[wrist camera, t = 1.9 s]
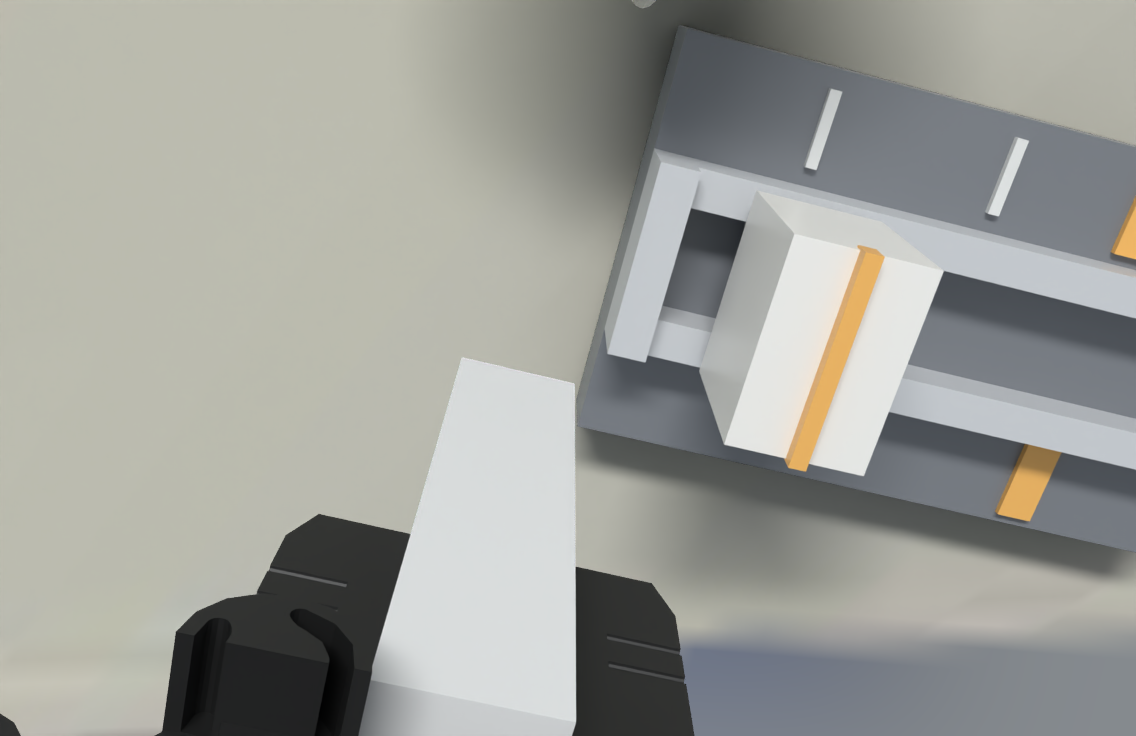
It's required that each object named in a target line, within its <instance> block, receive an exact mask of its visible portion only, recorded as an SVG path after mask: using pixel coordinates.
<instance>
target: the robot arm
mask: <svg viewBox="0 0 1136 736" xmlns="http://www.w3.org/2000/svg"><path fill="white" fill-rule="evenodd" d="M679 654H680V643H679V637H678V630H677V624H676V618H675V615H674V614H673V612H672V611H671V609H670V608H669V607H668V605H667V604H666V603H665V601H664V600H663V598H662V597H661V596H660V594H659V593H658V591H657V590H656V589H655V587H654V586H653V585H652V583H648V582H643V581H638V580H634V579H629V578H625V577H620V576H616V575H611V574H607V573H602V572H597V571H593V570H588V569H584V568H579V567H575V383H570V382H566V381H562V380H558V379H553V378H549V377H545V376H540V375H536V374H532V373H528V372H523V371H519V370H515V369H511V368H506V367H502V366H498V365H493V364H489V363H485V362H481V361H476V360H472V359H468V358H463V357H462V359H461V362H460V366H459V369H458V373H457V376H456V379H455V383H454V386H453V390H452V393H451V397H450V400H449V404H448V407H447V410H446V414H445V417H444V421H443V424H442V428H441V431H440V435H439V438H438V441H437V445H436V448H435V452H434V455H433V459H432V462H431V466H430V469H429V472H428V476H427V479H426V483H425V486H424V490H423V493H422V497H421V500H420V503H419V507H418V510H417V514H416V517H415V521H414V524H413V528H412V531H411V534H408V533H403V532H399V531H394V530H389V529H385V528H380V527H376V526H371V525H367V524H362V523H357V522H353V521H348V520H344V519H339V518H335V517H330V516H325V515H321V514H318V515H317V516H315V517H314V518H312V519H311V520H309V521H307V522H306V523H304V524H303V525H301V526H300V527H298V528H296V529H295V530H293V531H292V532H290V533H289V534H287V535H286V536H285V538H284V540H283V542H282V544H281V546H280V548H279V550H278V552H277V553H276V555H275V557H274V559H273V561H272V563H271V565H270V569H269V571H267V573H266V575H265V577H264V579H263V581H262V583H261V585H260V587H259V589H258V591H257V594H256V595H248V596H241V597H234V598H227V599H224V600H222V601H220V602H218V603H215V604H213V605H211V606H208V607H206V608H204V609H201V610H199V611H197V612H196V613H195V614H193V615H192V616H191V617H190V618H189V619H188V620H187V621H186V622H185V623H184V624H183V625H182V626H181V627H180V628H179V629H178V630H177V631H176V636H175V643H174V650H173V658H172V665H171V672H170V679H169V687H168V694H167V701H166V708H165V716H164V723H163V730H162V732H161V733H159V734H157V735H155V736H694V731H693V725H692V718H691V712H690V706H689V700H688V693H687V687H686V684H684V678H685V675H684V668H683V662H682V656H680V655H679ZM0 736H21V735H20V733H19V731H18V729H17V727H16V725H15V724H14V722H12V721H11V720H9V719H8V718H6V717H5V716H3V715H2V714H0Z"/></svg>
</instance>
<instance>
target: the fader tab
mask: <svg viewBox="0 0 1136 736" xmlns="http://www.w3.org/2000/svg"><path fill="white" fill-rule="evenodd" d="M943 272H944V271H943V270H942V269H941V268H940V267H938V266H937V265H936V264H935V263H933V262H932V261H931V260H930V259H928V258H927V257H926V256H925V255H923V254H922V253H921V252H919V251H918V250H917V249H916V248H914V247H913V246H912V245H911V244H909V243H908V242H907V241H906V240H904V239H903V238H902V237H900V236H899V235H898V234H897V233H895V232H894V231H893V230H892V229H890V228H889V227H888V226H887V225H885V224H884V223H883V222H881V221H877V220H873V219H869V218H865V217H861V216H857V215H853V214H849V213H845V212H841V211H837V210H833V209H829V208H825V207H821V206H817V205H813V204H809V203H805V202H801V201H797V200H793V199H789V198H785V197H781V196H777V195H773V194H769V193H765V192H761V191H757V190H756V193H755V196H754V199H753V202H752V205H751V208H750V212H749V215H748V218H747V221H746V224H745V228H744V231H743V234H742V237H741V240H740V243H739V247H738V250H737V253H736V256H735V259H734V262H733V266H732V269H731V272H730V275H729V278H728V281H727V285H726V288H725V291H724V294H723V297H722V300H721V304H720V307H719V310H718V313H717V316H716V319H715V323H714V326H713V329H712V332H711V335H710V338H709V342H708V345H707V348H706V351H705V354H704V358H703V361H702V364H701V367H700V370H699V372H700V375H701V378H702V381H703V384H704V387H705V390H706V393H707V396H708V399H709V402H710V405H711V408H712V410H713V413H714V416H715V419H716V422H717V425H718V428H719V431H720V434H721V437H722V440H723V443H724V445H728V446H733V447H737V448H741V449H746V450H750V451H755V452H759V453H763V454H768V455H772V456H777V457H781V458H784V460H785V462H786V464H787V466H788V468H792V469H796V470H800V471H805V472H806V470H807V467H808V464H812V465H816V466H821V467H825V468H829V469H834V470H838V471H843V472H847V473H851V474H856V475H860V476H864V474H865V472H866V469H867V466H868V464H869V461H870V459H871V456H872V454H873V451H874V449H875V446H876V443H877V441H878V438H879V436H880V433H881V431H882V428H883V426H884V423H885V420H886V418H887V415H888V413H889V410H890V408H891V405H892V402H893V400H894V397H895V395H896V392H897V390H898V387H899V385H900V382H901V379H902V377H903V374H904V372H905V369H906V367H907V364H908V362H909V359H910V356H911V354H912V351H913V349H914V346H915V344H916V341H917V338H918V336H919V333H920V331H921V328H922V326H923V323H924V321H925V318H926V315H927V313H928V310H929V308H930V305H931V303H932V300H933V298H934V295H935V292H936V290H937V287H938V285H939V282H940V280H941V277H942V274H943Z"/></svg>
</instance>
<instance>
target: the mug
mask: <svg viewBox="0 0 1136 736" xmlns="http://www.w3.org/2000/svg"><path fill="white" fill-rule="evenodd" d="M655 1H656V0H632V2H633V3H634V5H635V6H637V7H640V8H646V7H649V6H651V5H652V4H653V3H654V2H655Z"/></svg>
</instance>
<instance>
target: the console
mask: <svg viewBox="0 0 1136 736" xmlns="http://www.w3.org/2000/svg"><path fill="white" fill-rule="evenodd" d="M756 190H757V191H761V192H765V193H769V194H773V195H777V196H781V197H785V198H789V199H793V200H797V201H801V202H805V203H809V204H813V205H817V206H821V207H825V208H829V209H833V210H837V211H841V212H845V213H849V214H853V215H857V216H861V217H865V218H869V219H873V220H877V221H881V222H883V223H884V224H885V225H887V226H888V227H889V228H890V229H892V230H893V231H894V232H895V233H897V234H898V235H899V236H900V237H902V238H903V239H904V240H906V241H907V242H908V243H909V244H911V245H912V246H913V247H914V248H916V249H917V250H918V251H919V252H921V253H922V254H923V255H925V256H926V257H927V258H928V259H930V260H931V261H932V262H933V263H935V264H936V265H937V266H938V267H940V268H941V269H942V270H943V271H944V272H943V274H942V277H941V280H940V282H939V285H938V287H937V290H936V292H935V295H934V298H933V300H932V303H931V305H930V308H929V310H928V313H927V315H926V318H925V321H924V323H923V326H922V328H921V331H920V333H919V336H918V338H917V341H916V344H915V346H914V349H913V351H912V354H911V356H910V359H909V362H908V364H907V367H906V369H905V372H904V374H903V377H902V379H901V382H900V385H899V387H898V390H897V392H896V395H895V397H894V400H893V402H892V405H891V408H890V410H889V413H888V415H887V418H886V420H885V423H884V426H883V428H882V431H881V433H880V436H879V438H878V441H877V443H876V446H875V449H874V451H873V454H872V456H871V459H870V461H869V464H868V466H867V469H866V472H865V474H864V476H860V475H856V474H851V473H847V472H843V471H838V470H834V469H829V468H825V467H821V466H816V465H812V464H808V467H807V470H806V472H805V471H800V470H796V469H792V468H788V466H787V464H786V462H785V460H784V458H781V457H777V456H772V455H768V454H763V453H759V452H755V451H750V450H746V449H741V448H737V447H733V446H728V445H724V443H723V440H722V437H721V434H720V431H719V428H718V425H717V422H716V419H715V416H714V413H713V410H712V408H711V405H710V402H709V399H708V396H707V393H706V390H705V387H704V384H703V381H702V378H701V375H700V372H699V370H700V367H701V364H702V361H703V358H704V354H705V351H706V348H707V345H708V342H709V338H710V335H711V332H712V329H713V326H714V323H715V319H716V316H717V313H718V310H719V307H720V304H721V300H722V297H723V294H724V291H725V288H726V285H727V281H728V278H729V275H730V272H731V269H732V266H733V262H734V259H735V256H736V253H737V250H738V247H739V243H740V240H741V237H742V234H743V231H744V228H745V224H746V221H747V218H748V215H749V212H750V208H751V205H752V202H753V199H754V196H755V193H756ZM577 426H579V427H583V428H587V429H592V430H596V431H601V432H605V433H610V434H614V435H618V436H623V437H627V438H632V439H636V440H641V441H645V442H649V443H654V444H658V445H663V446H667V447H672V448H676V449H680V450H685V451H689V452H694V453H698V454H703V455H707V456H711V457H716V458H720V459H725V460H729V461H733V462H738V463H742V464H747V465H751V466H756V467H760V468H764V469H769V470H773V471H778V472H782V473H787V474H791V475H795V476H800V477H804V478H809V479H813V480H818V481H822V482H826V483H831V484H835V485H840V486H844V487H848V488H853V489H857V490H862V491H866V492H871V493H875V494H879V495H884V496H888V497H893V498H897V499H902V500H906V501H910V502H915V503H919V504H924V505H928V506H933V507H937V508H941V509H946V510H950V511H955V512H959V513H964V514H968V515H972V516H977V517H981V518H986V519H990V520H994V521H999V522H1003V523H1008V524H1012V525H1017V526H1021V527H1025V528H1030V529H1034V530H1039V531H1043V532H1048V533H1052V534H1056V535H1061V536H1065V537H1070V538H1074V539H1079V540H1083V541H1087V542H1092V543H1096V544H1101V545H1105V546H1110V547H1114V548H1118V549H1123V550H1127V551H1132V552H1136V146H1135V145H1131V144H1127V143H1124V142H1120V141H1116V140H1112V139H1109V138H1105V137H1101V136H1097V135H1093V134H1090V133H1086V132H1082V131H1078V130H1075V129H1071V128H1067V127H1063V126H1059V125H1056V124H1052V123H1048V122H1044V121H1041V120H1037V119H1033V118H1029V117H1025V116H1022V115H1018V114H1014V113H1010V112H1007V111H1003V110H999V109H995V108H992V107H988V106H984V105H980V104H976V103H973V102H969V101H965V100H961V99H958V98H954V97H950V96H946V95H942V94H939V93H935V92H931V91H927V90H924V89H920V88H916V87H912V86H908V85H905V84H901V83H897V82H893V81H890V80H886V79H882V78H878V77H874V76H871V75H867V74H863V73H859V72H856V71H852V70H848V69H844V68H840V67H837V66H833V65H829V64H825V63H822V62H818V61H814V60H810V59H806V58H803V57H799V56H795V55H791V54H788V53H784V52H780V51H776V50H773V49H769V48H765V47H761V46H757V45H754V44H750V43H746V42H742V41H739V40H735V39H731V38H727V37H723V36H720V35H716V34H712V33H708V32H705V31H701V30H697V29H693V28H689V27H686V26H682V25H679V26H678V29H677V33H676V37H675V40H674V44H673V48H672V51H671V55H670V59H669V62H668V66H667V70H666V73H665V77H664V81H663V84H662V88H661V92H660V95H659V99H658V103H657V106H656V110H655V114H654V117H653V121H652V125H651V128H650V132H649V135H648V139H647V143H646V146H645V150H644V154H643V157H642V161H641V165H640V168H639V172H638V176H637V179H636V183H635V187H634V190H633V194H632V198H631V201H630V205H629V209H628V212H627V216H626V220H625V223H624V227H623V231H622V234H621V238H620V242H619V245H618V249H617V253H616V256H615V260H614V264H613V267H612V271H611V275H610V278H609V282H608V286H607V289H606V293H605V296H604V300H603V304H602V307H601V311H600V315H599V318H598V322H597V326H596V329H595V333H594V337H593V340H592V344H591V348H590V351H589V355H588V359H587V362H586V366H585V370H584V373H583V377H582V381H581V384H580V388H579V392H578V395H577Z"/></svg>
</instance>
